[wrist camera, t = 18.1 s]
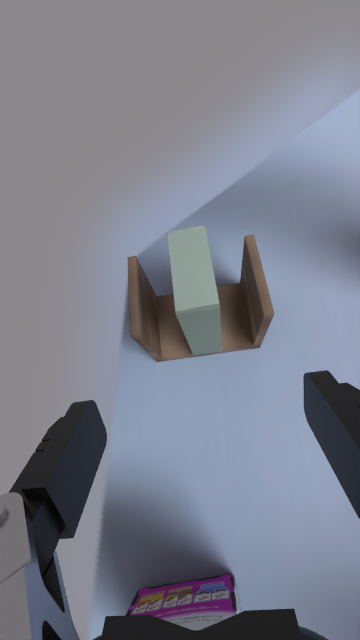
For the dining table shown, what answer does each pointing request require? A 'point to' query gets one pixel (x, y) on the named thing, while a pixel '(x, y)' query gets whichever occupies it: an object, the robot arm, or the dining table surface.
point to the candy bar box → (189, 602)
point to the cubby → (235, 311)
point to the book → (195, 289)
